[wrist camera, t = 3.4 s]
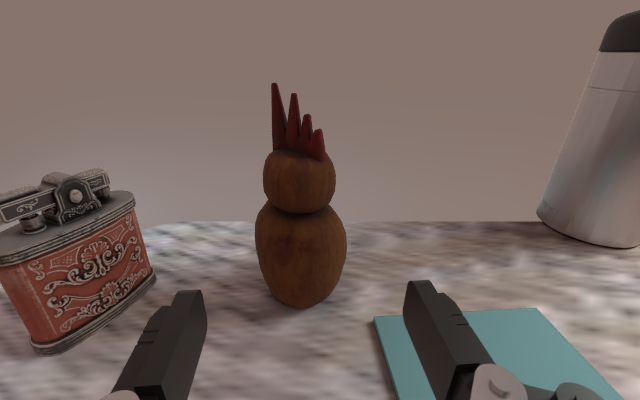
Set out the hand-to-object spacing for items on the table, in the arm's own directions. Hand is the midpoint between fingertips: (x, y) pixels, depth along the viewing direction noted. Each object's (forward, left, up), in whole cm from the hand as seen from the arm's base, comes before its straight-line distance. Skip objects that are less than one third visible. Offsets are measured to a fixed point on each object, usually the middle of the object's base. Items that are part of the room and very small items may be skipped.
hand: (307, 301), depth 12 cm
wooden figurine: (0, -9, -8) cm, 12 cm away
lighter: (+14, -8, -8) cm, 18 cm away
